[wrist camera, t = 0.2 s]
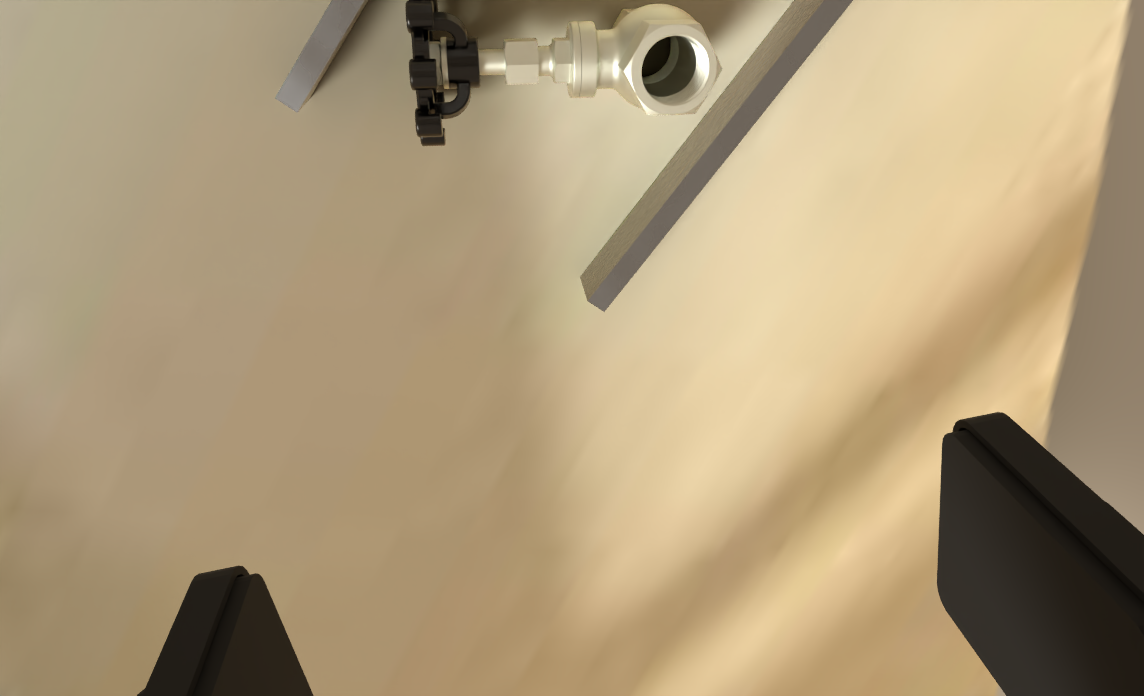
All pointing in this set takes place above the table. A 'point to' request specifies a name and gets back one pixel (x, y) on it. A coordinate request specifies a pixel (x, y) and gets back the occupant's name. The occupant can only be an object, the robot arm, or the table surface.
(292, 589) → the table surface
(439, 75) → the valve
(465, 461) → the table surface
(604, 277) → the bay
